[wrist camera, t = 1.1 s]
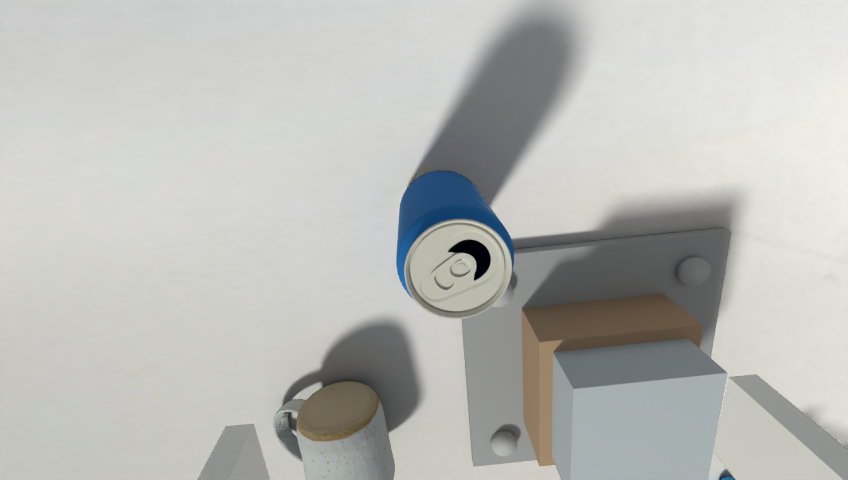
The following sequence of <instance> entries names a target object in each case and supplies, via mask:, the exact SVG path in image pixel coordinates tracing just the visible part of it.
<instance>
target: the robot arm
mask: <svg viewBox="0 0 848 480" xmlns="http://www.w3.org/2000/svg"><path fill="white" fill-rule="evenodd" d="M713 453H714V454H715V456H716V457H717V458H718V459H719V460H720V461H721V463H722V464H723V465H724V466H725V467H726V469H727V470H728V471H729V472H730V473H731V475H732V476H733V477H734V478H735V479H736V480H848V449H847V448H846V447H844V446H843V445H842V444H841V443H839V442H838V441H837V440H836V439H834V438H833V437H832V436H831V435H830V434H828V433H827V432H826V431H825V430H823V429H822V428H821V427H820V426H819V425H817V424H816V423H815V422H814V421H812V420H811V419H810V418H809V417H808V416H806V415H805V414H804V413H803V412H801V411H800V410H799V409H798V408H797V407H795V406H794V405H793V404H792V403H790V402H789V401H788V400H787V399H786V398H784V397H783V396H782V395H781V394H779V393H778V392H777V391H776V390H775V389H773V388H772V387H771V386H770V385H768V384H767V383H766V382H765V381H764V380H762V379H761V378H760V377H759V376H757V375H756V374H755V375H745V376H735V377H729V378H728V383H727V387H726V392H725V397H724V402H723V407H722V412H721V417H720V422H719V427H718V432H717V437H716V442H715V446H714V451H713ZM197 480H270V478H269V475H268V471H267V468H266V464H265V461H264V458H263V454H262V451H261V447H260V444H259V440H258V437H257V433H256V430H255V427H254V424H247V425H236V426H226V427H225V429H224V431H223V433H222V434H221V436H220V438H219V440H218V442H217V444H216V446H215V448H214V449H213V451H212V453H211V455H210V457H209V459H208V461H207V462H206V464H205V466H204V468H203V470H202V472H201V474H200V476H199V477H198V479H197Z"/></svg>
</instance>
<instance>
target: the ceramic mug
mask: <svg viewBox="0 0 848 480" xmlns="http://www.w3.org/2000/svg"><path fill="white" fill-rule="evenodd" d="M288 412H294V413H298V416H297V437H296V436H295V435H294V434H293V433H292V431H291V429H290V427H289V421H288ZM273 425H274V431H275V434H276V436H277V438H278V440H279V442H280V444H281V445H282V446H283V448H284V449H285V450H286V451H287V452H288V453H289V454H291V455H292V456H293V457H295V458H296V459H297V460H299V461H301V462H303V466H304V472H305V477H306V480H393V478H394V472H395V465H394V459H393V454H392V450H391V445H390V440H389V435H388V431H387V426H386V421H385V416H384V411H383V407H382V404H381V402H380V400H379V398H378V396H377V394H376V392H375V391H374V390H373V389H372V388H371V387H370V386H368V385H365V384H363V383H360V382H354V381H344V382H338V383H334V384H330V385H328V386H325V387H323V388H321V389H319V390H318V391H316V392H315V393H313V394H312V395H311V396H310V397H309V398H308V399H307V400H303V399H294V400H290V401H288V402H287V403H285V404H284V405H283V406H282V407H281V408H280V409H279V410H278V412H277V413H276V415H275V417H274V423H273Z"/></svg>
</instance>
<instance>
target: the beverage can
mask: <svg viewBox="0 0 848 480" xmlns="http://www.w3.org/2000/svg"><path fill="white" fill-rule="evenodd" d="M513 266H514V249H513V244H512V241H511V238H510V236H509V234H508V232H507V230H506V229H505V227H504V226H503V224H502V223H501V222H500V220H499V219H498V218H497V216H496V215H495V213H494V212H493V211H492V209H491V208H490V206H489V205H488V204H487V202H486V201H485V199H484V198H483V197H482V195H481V194H480V192H479V191H478V190H477V188H476V187H475V185H474V184H473V183H472V182H471V181H470V180H468V179H467V178H466V177H464V176H462V175H460V174H458V173H455V172H451V171H434V172H430V173H427V174H425V175H423V176H421V177H419V178H418V179H416V180H415V181H414V182H413V183H412V184H411V185H410V186H409V187H408V188H407V190H406V191H405V193H404V195H403V197H402V200H401V204H400V212H399V228H398V243H397V271H398V275H399V278H400V281H401V283H402V285H403V287H404V288H405V290H406V291H407V293H408V294H409V295H410V296H411V297H412V298H413V299H414V300H415V301H416V303H417V304H418V305H420V306H421V307H422V308H423V309H425V310H426V311H428V312H430V313H432V314H434V315H436V316H439V317H443V318H450V319H461V318H468V317H472V316H475V315H478V314H480V313H482V312H484V311H486V310H487V309H489V308H490V307H492V306H493V305H494V304H495V303H496V302H497V301H498V300H499V299H500V298H501V297H502V295H503V294H504V292H505V291H506V289H507V287H508V284H509V282H510V278H511V274H512V270H513Z"/></svg>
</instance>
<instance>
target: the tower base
mask: <svg viewBox="0 0 848 480" xmlns="http://www.w3.org/2000/svg"><path fill="white" fill-rule="evenodd" d="M730 237H731V231H729V230H727V229H725V228H714V229H704V230H694V231H685V232H675V233H666V234H656V235H646V236H637V237H627V238H617V239H608V240H598V241H589V242H579V243H569V244H560V245H550V246H540V247H531V248H521V249H514V266H513V270H512V274H511V278H510V282H509V284H508V287H507V289H506V291H505V292H504V294H503V295H502V297H501V298H500V299H499V300H498V301H497V302H496V303H495V304H494V305H493V306H492V307H490V308H489V309H487V310H486V311H484V312H482V313H480V314H478V315H475V316H472V317H468V318H462V330H463V343H464V356H465V370H466V383H467V397H468V410H469V423H470V437H471V450H472V460H473V466H484V465H493V464H503V463H512V462H522V461H531V460H538V463H539V466H546V465H556V468H557V470H558V473H559V475H560V478H561V480H708V476H709V470H710V465H711V459H712V454H713V448H714V443H715V437H716V432H717V427H718V421H719V416H720V410H721V405H722V399H723V394H724V388H725V383H726V377H727V372H726V371H725V370H723V369H722V368H721V367H720V366H719V365H718V364H717V363H715V362H714V361H713V360H712V359H711V353H712V347H713V341H714V334H715V328H716V322H717V316H718V310H719V304H720V298H721V292H722V286H723V280H724V274H725V268H726V261H727V255H728V249H729V243H730Z"/></svg>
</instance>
